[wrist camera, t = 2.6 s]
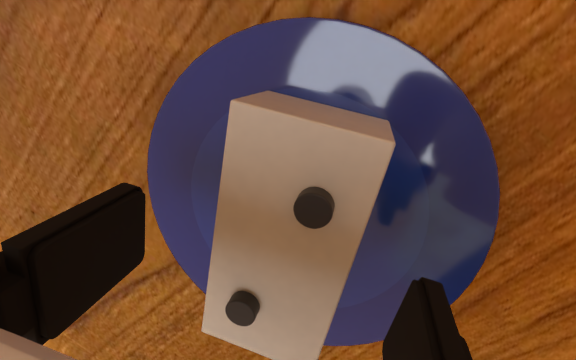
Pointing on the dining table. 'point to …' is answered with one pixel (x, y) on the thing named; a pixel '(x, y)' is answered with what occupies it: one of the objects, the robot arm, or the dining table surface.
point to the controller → (290, 220)
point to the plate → (396, 183)
